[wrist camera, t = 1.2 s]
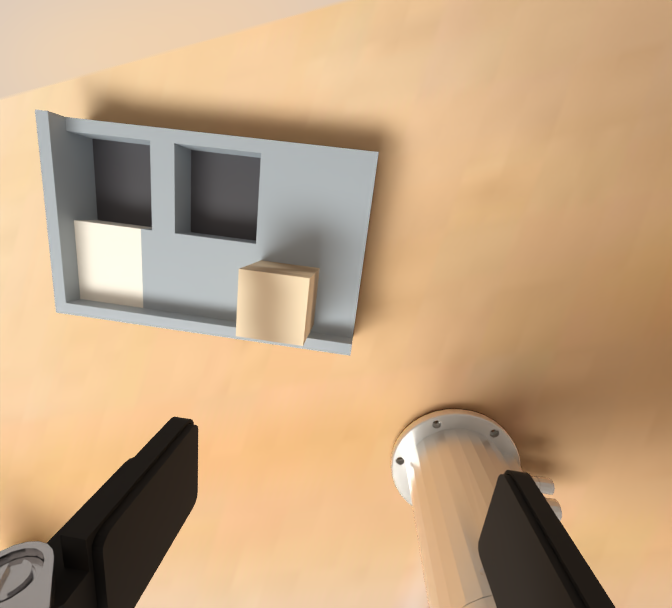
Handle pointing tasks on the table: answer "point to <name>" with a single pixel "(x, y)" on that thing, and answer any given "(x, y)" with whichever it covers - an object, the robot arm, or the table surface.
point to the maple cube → (276, 302)
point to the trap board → (199, 223)
